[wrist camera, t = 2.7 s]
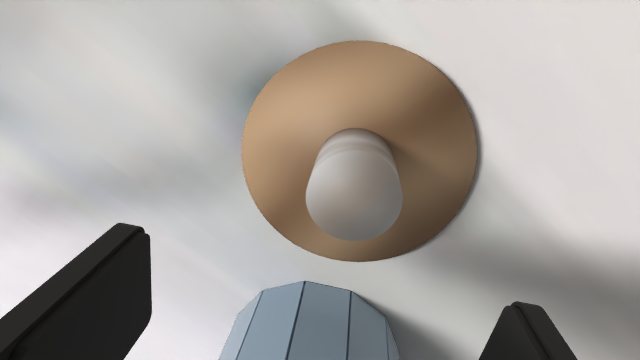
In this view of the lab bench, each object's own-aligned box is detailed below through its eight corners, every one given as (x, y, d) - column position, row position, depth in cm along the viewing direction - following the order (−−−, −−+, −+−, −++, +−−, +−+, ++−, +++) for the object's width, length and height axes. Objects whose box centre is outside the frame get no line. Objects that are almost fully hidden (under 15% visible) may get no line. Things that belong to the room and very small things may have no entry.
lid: (523, 154, 18) (574, 195, 14) (360, 286, 23) (359, 350, 18) (348, -19, 16) (343, -36, 12) (204, 165, 20) (161, 203, 16)
